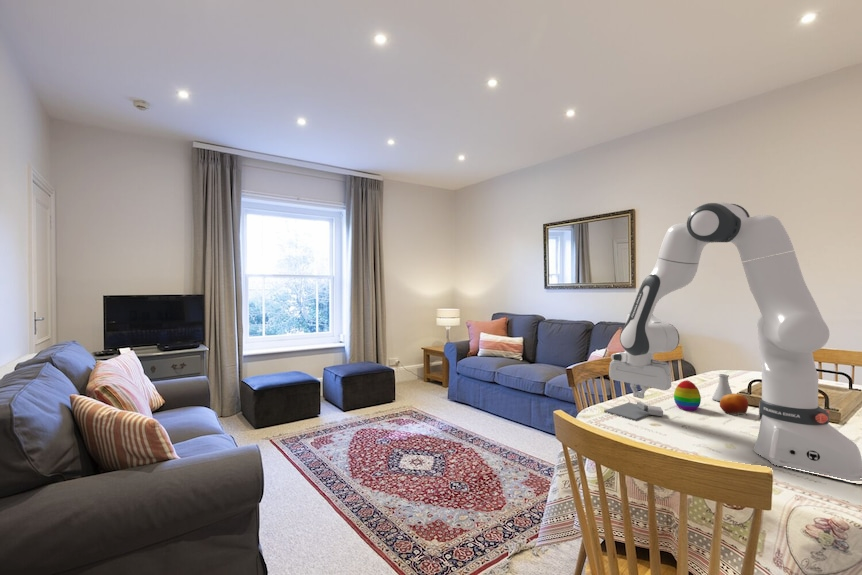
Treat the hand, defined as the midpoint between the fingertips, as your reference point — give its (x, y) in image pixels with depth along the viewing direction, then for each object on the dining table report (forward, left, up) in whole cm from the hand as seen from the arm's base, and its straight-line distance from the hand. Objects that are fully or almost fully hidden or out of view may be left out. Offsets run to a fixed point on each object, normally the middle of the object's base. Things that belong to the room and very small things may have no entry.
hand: (638, 397), depth 142 cm
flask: (-11, -41, -6) cm, 43 cm away
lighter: (-4, -1, -4) cm, 6 cm away
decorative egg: (-7, -20, -6) cm, 22 cm away
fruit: (-19, -27, -6) cm, 34 cm away
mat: (+2, 0, -6) cm, 6 cm away
